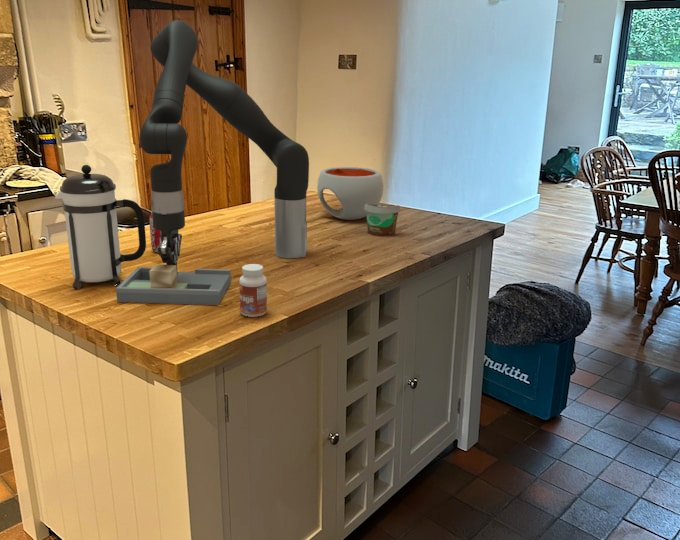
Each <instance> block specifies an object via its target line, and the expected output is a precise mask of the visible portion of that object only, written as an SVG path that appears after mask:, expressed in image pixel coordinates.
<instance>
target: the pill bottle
mask: <svg viewBox="0 0 680 540" xmlns="http://www.w3.org/2000/svg"><path fill="white" fill-rule="evenodd" d="M241 269H242V270H241V273H242V275H241V276H240V278H239V281H238V282H239V284H238V285H239V313H240V314H241V315H242V316H245V317H247V316H248V318H258V316H259V317H262V316H264V315H266V313H267V311H268V291H267V290H268V286H267V285H268V282H267V281H268V280H267V279H268V278H267V277H266V275H264V266H263V265H262V264H259V263H258V264H257V263H249V264H245V265H243V266H242V267H241Z"/></svg>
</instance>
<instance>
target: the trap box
mask: <svg viewBox="0 0 680 540" xmlns="http://www.w3.org/2000/svg"><path fill="white" fill-rule="evenodd" d="M153 267H154V266H152V267H150V266H149V267H147V266H138V267H137V268H136V269H134V270H133V271H132V272H131V273H130V274H129V275H128V276H127V277H126V278H125V279H124V280H123V281H121V284H120V285H118V286H116V287H115V292H116V293H115V294H116V302H117V303H127V302H137V303H136V304H169V305H171V304H172V305H173V304H174V305H198V304H199V305H200V304H201V306H202V305H203V306H204V305H205V306H206V305H208V306H219V305H220V303H221V301H222V299H223V297H224V296H225V293H226V292H227V290H228V289H229V287H230V284H231V283H232V274H231V269H227V268H226V269H220V268H219V269H217V268H216V269H215V268H194V271H177V272H178V275H177V284H178V285H177V286H176V287H175V288H151V286H150V274H149V271H150V270H151V269H152V268H153Z"/></svg>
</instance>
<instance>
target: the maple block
mask: <svg viewBox="0 0 680 540" xmlns="http://www.w3.org/2000/svg"><path fill="white" fill-rule="evenodd" d="M152 267H153V268H152V269H151V270H150V271H149V274H150V286H151V288H175V287H176V286H177V285H178V284H177V272H178V268H177V269H176V265H166V264H155V265H154V266H152Z"/></svg>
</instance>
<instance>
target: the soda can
mask: <svg viewBox="0 0 680 540" xmlns="http://www.w3.org/2000/svg"><path fill="white" fill-rule="evenodd" d="M150 213H151V214H150V216H149V219H148V220H149V234H150V235H149V236H150V245H151V250H152V251H153V252H155V253H156V252H157V254H159V252H158V247H161V243H160V236H161V231H160V230H157V229H155V228H154V227H153V218H152V211H151V212H150Z"/></svg>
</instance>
